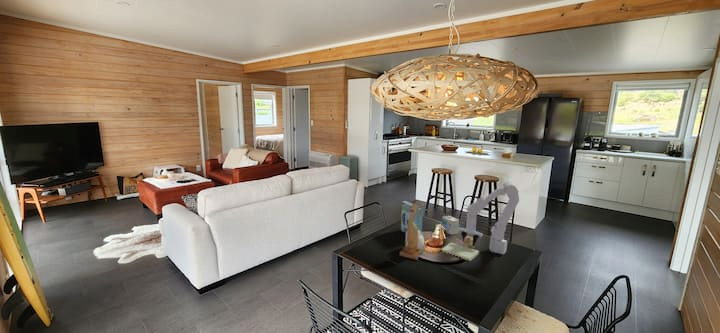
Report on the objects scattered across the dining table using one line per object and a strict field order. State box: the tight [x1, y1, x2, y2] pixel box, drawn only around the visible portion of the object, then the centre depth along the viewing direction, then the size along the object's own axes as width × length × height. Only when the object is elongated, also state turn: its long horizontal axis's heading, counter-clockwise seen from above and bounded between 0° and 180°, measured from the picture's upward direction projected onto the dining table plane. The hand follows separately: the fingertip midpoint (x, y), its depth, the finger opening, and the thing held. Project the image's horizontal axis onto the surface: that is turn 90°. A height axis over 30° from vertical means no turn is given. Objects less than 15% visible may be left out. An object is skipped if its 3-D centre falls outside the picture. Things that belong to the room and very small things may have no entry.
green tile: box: [440, 242, 480, 262], centre depth 181 cm, size 18×14×2 cm
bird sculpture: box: [399, 202, 424, 261], centre depth 173 cm, size 11×12×32 cm
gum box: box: [400, 200, 424, 235], centre depth 202 cm, size 19×5×23 cm, turn 22°
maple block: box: [463, 235, 476, 249], centre depth 189 cm, size 5×5×6 cm
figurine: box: [405, 230, 425, 250], centre depth 181 cm, size 11×11×15 cm
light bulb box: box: [441, 215, 460, 235], centre depth 213 cm, size 11×7×11 cm, turn 25°
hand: (469, 244), depth 189 cm, fingers closed on maple block, 5 cm apart
